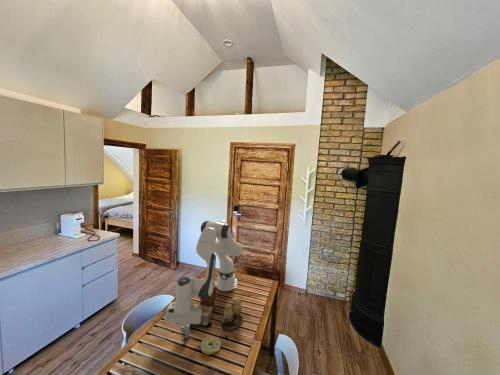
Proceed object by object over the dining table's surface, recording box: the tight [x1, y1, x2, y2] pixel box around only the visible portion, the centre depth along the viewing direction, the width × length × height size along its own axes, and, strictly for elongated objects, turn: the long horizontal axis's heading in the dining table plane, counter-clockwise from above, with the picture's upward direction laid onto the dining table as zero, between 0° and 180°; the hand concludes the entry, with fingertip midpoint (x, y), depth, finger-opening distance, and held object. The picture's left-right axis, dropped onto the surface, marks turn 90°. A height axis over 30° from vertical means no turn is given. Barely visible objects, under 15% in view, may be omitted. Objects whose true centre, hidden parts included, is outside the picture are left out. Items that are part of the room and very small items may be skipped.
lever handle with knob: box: [184, 324, 191, 340], centre depth 133 cm, size 12×3×7 cm, turn 12°
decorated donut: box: [200, 336, 221, 356], centre depth 122 cm, size 10×11×4 cm
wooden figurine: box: [199, 286, 217, 312], centre depth 153 cm, size 12×6×18 cm, turn 147°
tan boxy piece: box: [189, 303, 214, 327], centre depth 142 cm, size 14×13×7 cm
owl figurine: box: [220, 296, 244, 333], centre depth 143 cm, size 18×12×17 cm, turn 150°
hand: (182, 329), depth 128 cm, fingers closed
